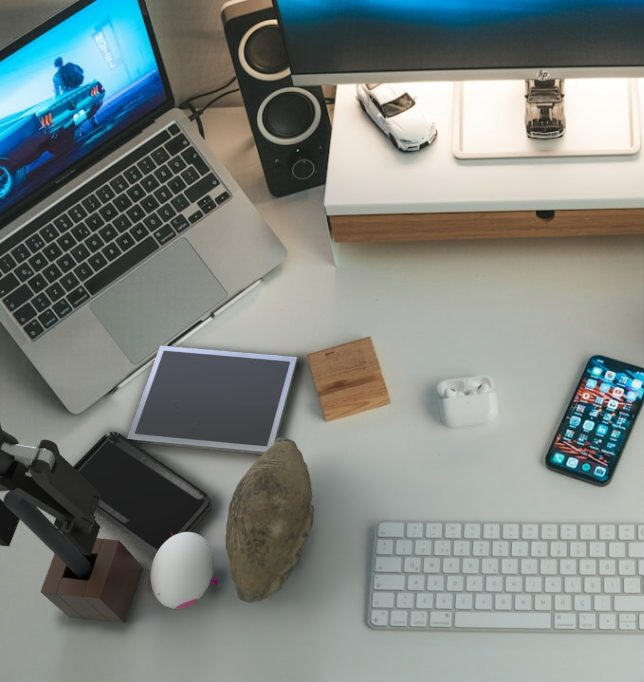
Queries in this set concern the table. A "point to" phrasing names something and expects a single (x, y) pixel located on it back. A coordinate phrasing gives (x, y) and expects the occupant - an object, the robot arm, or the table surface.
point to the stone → (269, 521)
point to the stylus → (49, 535)
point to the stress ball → (182, 570)
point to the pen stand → (95, 584)
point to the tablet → (214, 400)
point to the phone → (141, 492)
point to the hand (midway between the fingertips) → (50, 536)
